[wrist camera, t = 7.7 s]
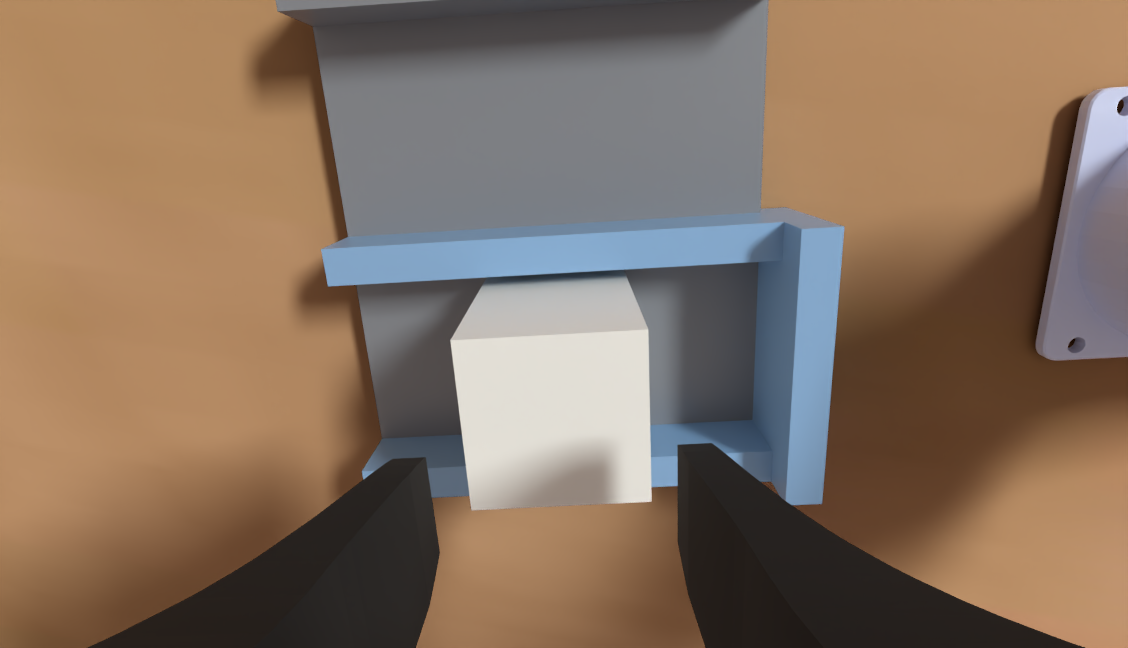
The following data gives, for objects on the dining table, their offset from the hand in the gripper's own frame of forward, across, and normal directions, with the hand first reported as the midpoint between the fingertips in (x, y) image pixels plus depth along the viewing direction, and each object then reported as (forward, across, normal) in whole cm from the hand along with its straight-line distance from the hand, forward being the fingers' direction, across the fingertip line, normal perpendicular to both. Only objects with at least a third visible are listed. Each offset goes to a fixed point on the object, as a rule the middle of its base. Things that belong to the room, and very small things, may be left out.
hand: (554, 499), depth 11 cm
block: (+8, 0, 0) cm, 8 cm away
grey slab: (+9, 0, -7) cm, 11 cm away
